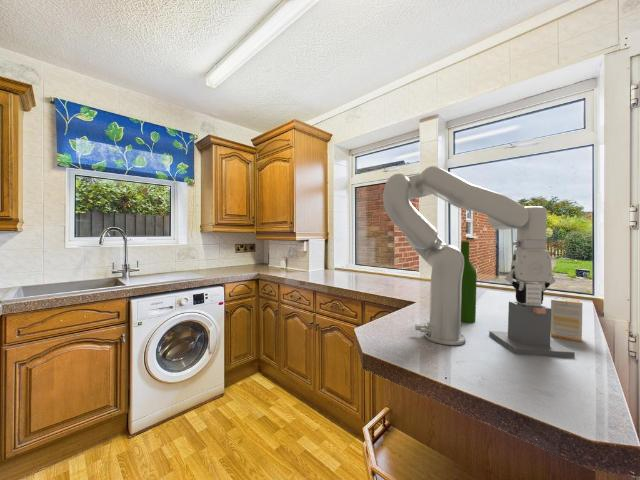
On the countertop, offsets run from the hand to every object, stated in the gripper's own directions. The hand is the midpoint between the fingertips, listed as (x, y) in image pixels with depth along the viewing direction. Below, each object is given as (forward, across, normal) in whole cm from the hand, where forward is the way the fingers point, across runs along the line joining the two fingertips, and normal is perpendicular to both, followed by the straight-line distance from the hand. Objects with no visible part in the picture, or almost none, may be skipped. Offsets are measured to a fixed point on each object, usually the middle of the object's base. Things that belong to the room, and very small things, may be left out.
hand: (529, 302), depth 91 cm
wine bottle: (+14, -10, +26) cm, 31 cm away
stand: (+14, 0, 0) cm, 14 cm away
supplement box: (+14, +18, +10) cm, 25 cm away
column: (+12, 0, 0) cm, 12 cm away
